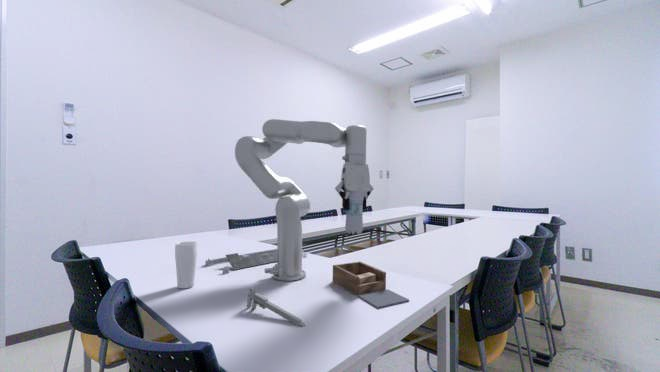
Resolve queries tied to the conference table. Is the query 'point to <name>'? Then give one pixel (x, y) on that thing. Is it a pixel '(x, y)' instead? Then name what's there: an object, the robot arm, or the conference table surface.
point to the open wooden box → (350, 281)
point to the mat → (383, 298)
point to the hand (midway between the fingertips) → (354, 209)
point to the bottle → (355, 212)
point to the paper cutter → (246, 259)
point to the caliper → (270, 307)
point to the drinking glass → (185, 263)
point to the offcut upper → (367, 278)
